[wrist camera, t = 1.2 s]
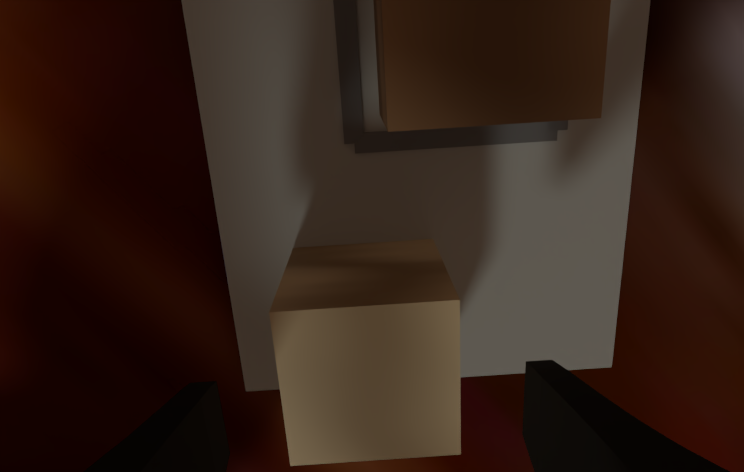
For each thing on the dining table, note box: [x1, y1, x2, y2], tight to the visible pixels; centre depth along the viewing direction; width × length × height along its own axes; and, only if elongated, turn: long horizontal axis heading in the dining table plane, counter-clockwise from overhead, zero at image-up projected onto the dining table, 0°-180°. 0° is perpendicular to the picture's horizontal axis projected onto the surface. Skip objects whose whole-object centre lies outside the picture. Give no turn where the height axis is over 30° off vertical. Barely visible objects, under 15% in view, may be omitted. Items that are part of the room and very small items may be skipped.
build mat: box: [181, 0, 650, 391], centre depth 15 cm, size 13×16×1 cm
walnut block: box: [373, 0, 611, 132], centre depth 12 cm, size 4×4×4 cm
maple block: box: [269, 239, 461, 466], centre depth 15 cm, size 4×4×4 cm
